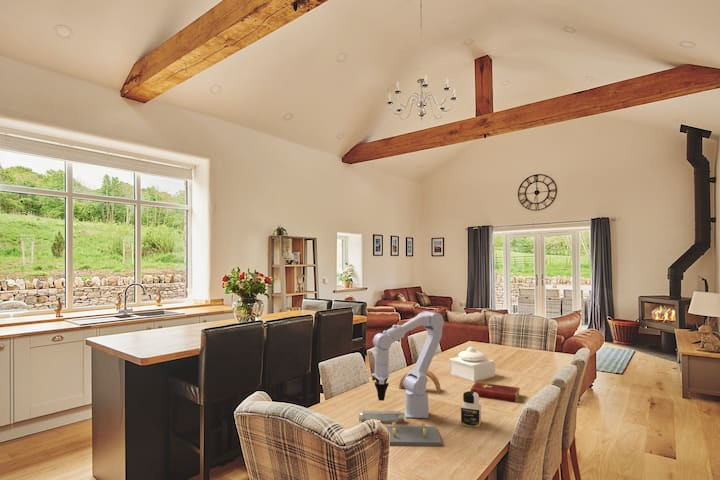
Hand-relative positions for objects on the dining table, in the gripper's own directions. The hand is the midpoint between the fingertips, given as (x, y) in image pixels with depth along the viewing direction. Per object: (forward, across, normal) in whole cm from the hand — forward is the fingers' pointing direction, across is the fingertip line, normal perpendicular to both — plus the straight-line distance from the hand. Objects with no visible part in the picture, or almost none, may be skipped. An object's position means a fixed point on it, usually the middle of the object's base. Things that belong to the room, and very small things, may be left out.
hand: (381, 397), depth 172 cm
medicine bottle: (+9, +1, +36) cm, 37 cm away
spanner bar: (+10, 0, 0) cm, 10 cm away
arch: (+9, -41, +20) cm, 47 cm away
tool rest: (+9, +15, +10) cm, 20 cm away
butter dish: (+8, -67, +52) cm, 85 cm away
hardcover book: (+9, -33, +55) cm, 65 cm away
